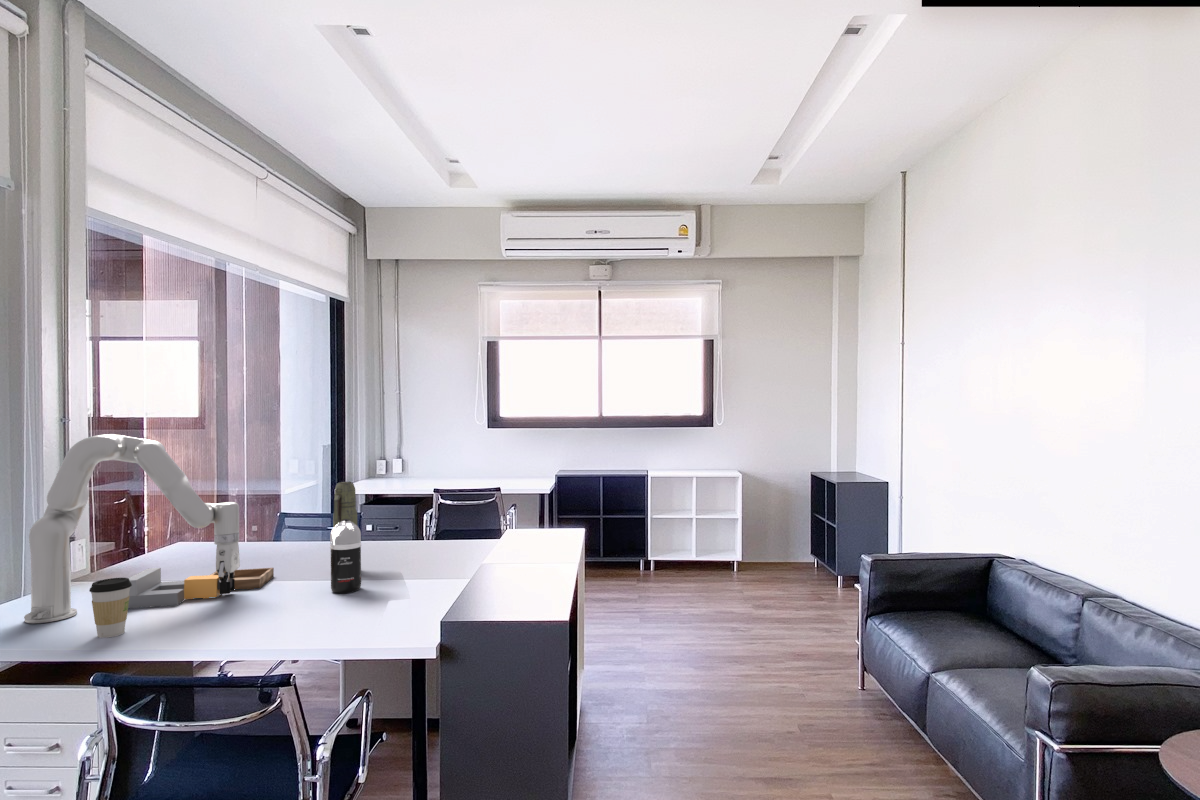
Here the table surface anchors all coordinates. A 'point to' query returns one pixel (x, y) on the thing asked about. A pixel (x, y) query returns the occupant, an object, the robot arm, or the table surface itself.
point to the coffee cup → (110, 605)
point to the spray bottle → (345, 557)
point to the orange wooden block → (202, 586)
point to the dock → (154, 590)
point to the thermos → (344, 503)
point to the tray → (252, 577)
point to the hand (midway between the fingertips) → (227, 591)
